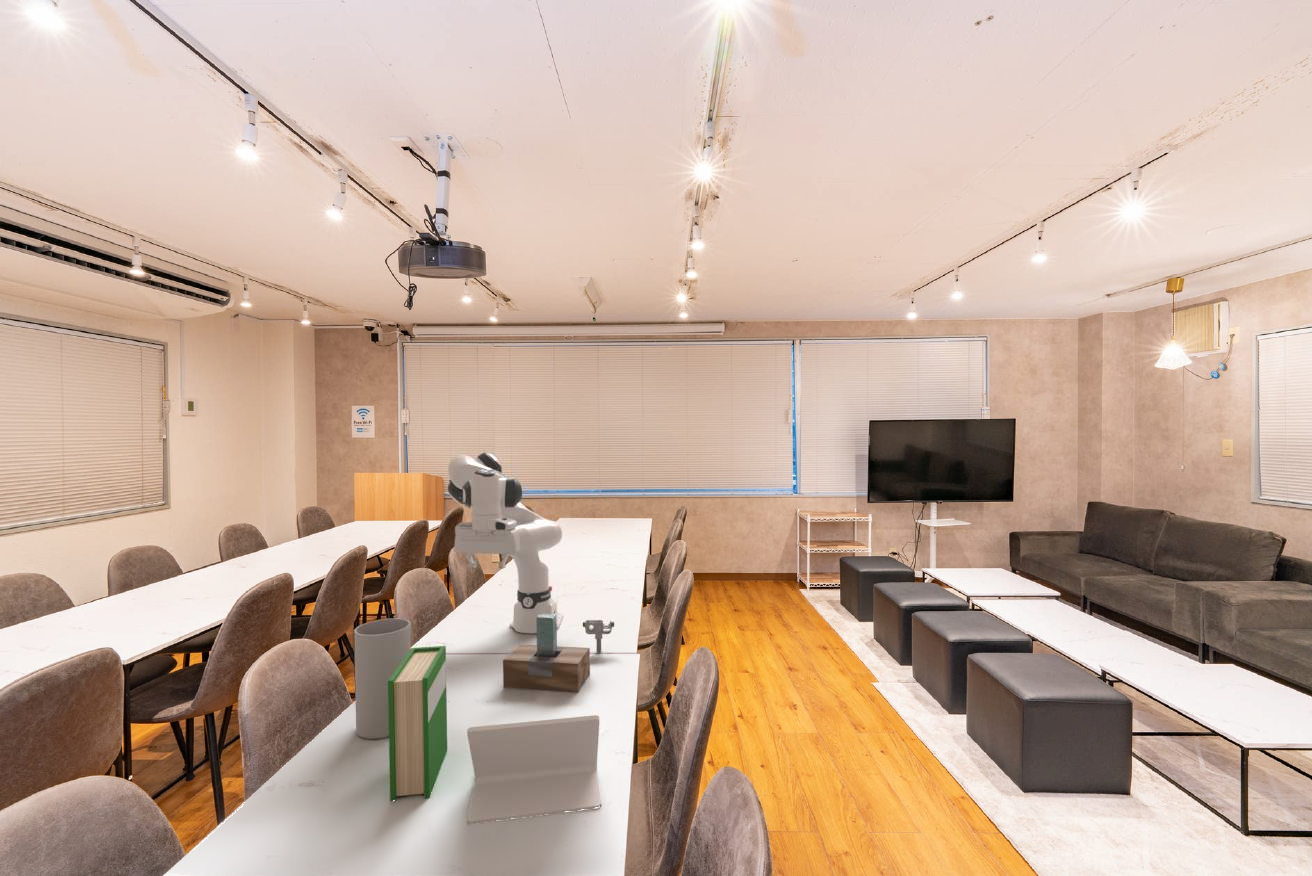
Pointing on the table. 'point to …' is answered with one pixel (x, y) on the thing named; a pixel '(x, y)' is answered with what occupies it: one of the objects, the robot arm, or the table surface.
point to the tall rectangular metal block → (546, 635)
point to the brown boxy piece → (546, 669)
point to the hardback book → (417, 721)
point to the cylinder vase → (377, 671)
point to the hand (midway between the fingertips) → (487, 567)
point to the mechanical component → (597, 630)
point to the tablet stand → (534, 768)
